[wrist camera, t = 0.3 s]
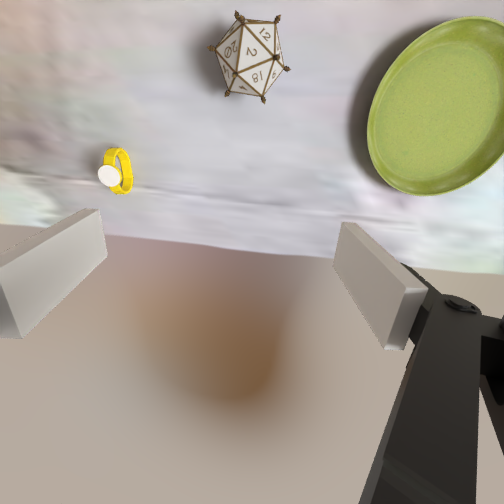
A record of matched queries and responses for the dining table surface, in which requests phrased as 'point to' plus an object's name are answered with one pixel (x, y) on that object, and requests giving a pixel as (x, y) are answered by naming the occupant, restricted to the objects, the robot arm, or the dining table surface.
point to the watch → (116, 171)
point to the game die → (250, 56)
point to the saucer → (441, 109)
